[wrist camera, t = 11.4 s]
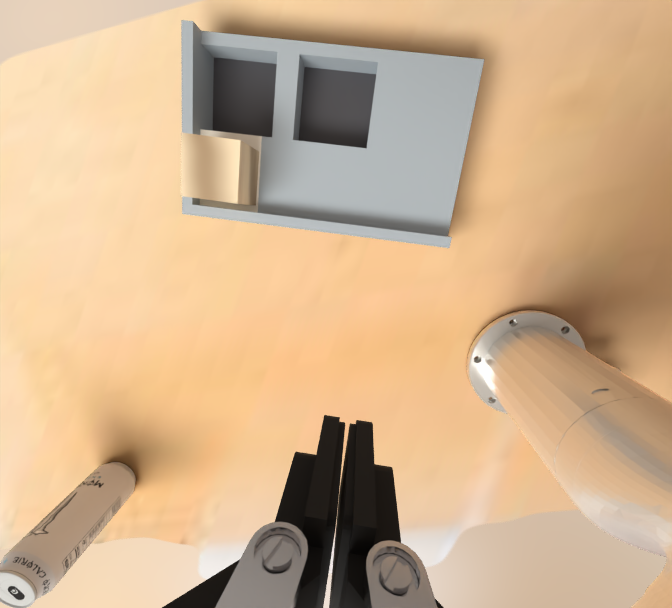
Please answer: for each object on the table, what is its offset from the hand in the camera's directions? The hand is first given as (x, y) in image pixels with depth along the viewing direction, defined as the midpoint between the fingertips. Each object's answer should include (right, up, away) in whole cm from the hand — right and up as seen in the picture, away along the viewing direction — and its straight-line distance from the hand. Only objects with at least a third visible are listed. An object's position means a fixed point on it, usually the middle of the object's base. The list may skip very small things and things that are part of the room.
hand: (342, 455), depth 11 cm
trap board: (-1, +21, +23) cm, 31 cm away
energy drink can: (-31, -20, +36) cm, 52 cm away
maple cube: (-10, +18, +21) cm, 30 cm away
